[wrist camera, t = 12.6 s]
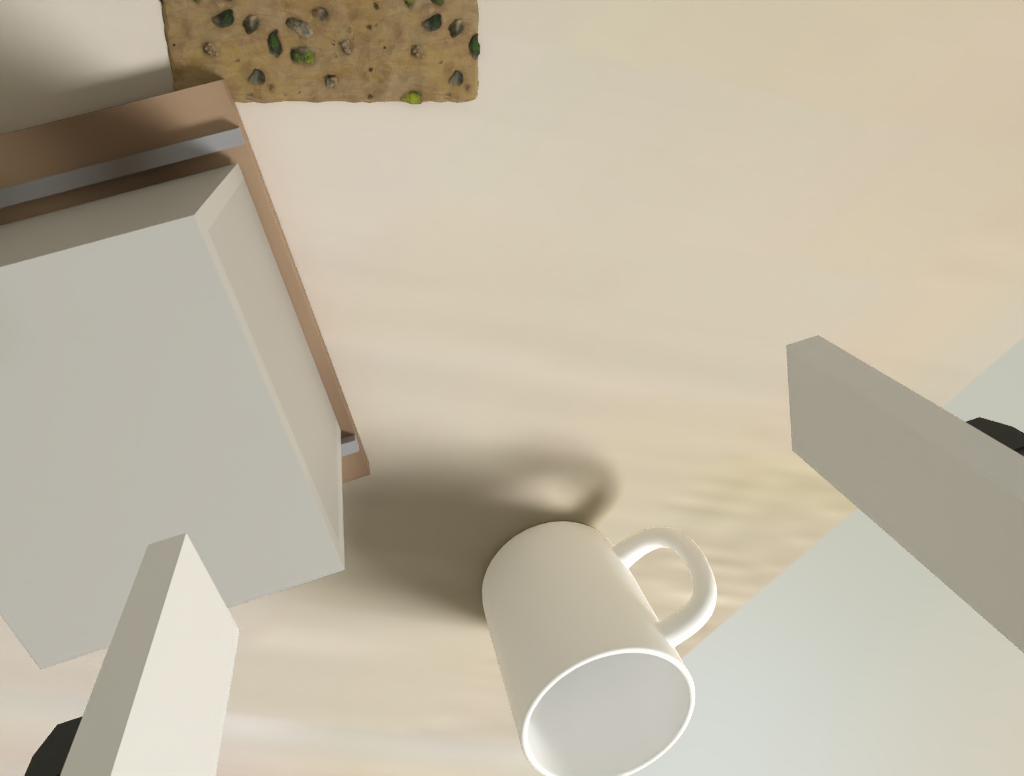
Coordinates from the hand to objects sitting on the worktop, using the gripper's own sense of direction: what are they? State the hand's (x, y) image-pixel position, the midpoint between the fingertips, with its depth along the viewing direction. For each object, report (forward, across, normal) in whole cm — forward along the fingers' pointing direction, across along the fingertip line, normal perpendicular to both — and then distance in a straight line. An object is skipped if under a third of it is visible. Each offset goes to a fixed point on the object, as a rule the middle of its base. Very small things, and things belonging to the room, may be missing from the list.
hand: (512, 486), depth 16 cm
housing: (+18, -11, 0) cm, 21 cm away
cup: (+20, +4, -19) cm, 28 cm away
